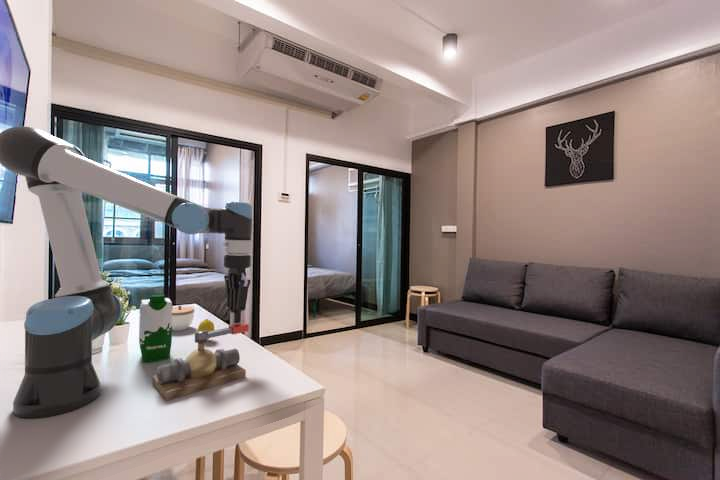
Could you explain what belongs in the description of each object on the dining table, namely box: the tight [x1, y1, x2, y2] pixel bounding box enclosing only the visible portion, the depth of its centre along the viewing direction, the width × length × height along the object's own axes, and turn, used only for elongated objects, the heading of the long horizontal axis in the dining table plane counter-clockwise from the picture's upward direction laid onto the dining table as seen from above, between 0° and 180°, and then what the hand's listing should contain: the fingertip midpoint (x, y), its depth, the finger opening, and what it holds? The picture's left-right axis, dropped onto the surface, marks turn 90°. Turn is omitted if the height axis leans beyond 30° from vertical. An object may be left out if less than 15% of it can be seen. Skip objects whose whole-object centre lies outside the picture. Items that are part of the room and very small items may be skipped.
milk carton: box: [138, 293, 173, 364], centre depth 107 cm, size 9×9×20 cm
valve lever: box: [194, 322, 250, 344], centre depth 96 cm, size 15×3×2 cm, turn 140°
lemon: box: [197, 318, 215, 340], centre depth 124 cm, size 6×6×8 cm
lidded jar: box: [172, 304, 195, 332], centre depth 138 cm, size 11×11×9 cm
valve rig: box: [151, 342, 247, 401], centre depth 92 cm, size 20×12×10 cm, turn 136°
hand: (235, 332), depth 102 cm, fingers closed
